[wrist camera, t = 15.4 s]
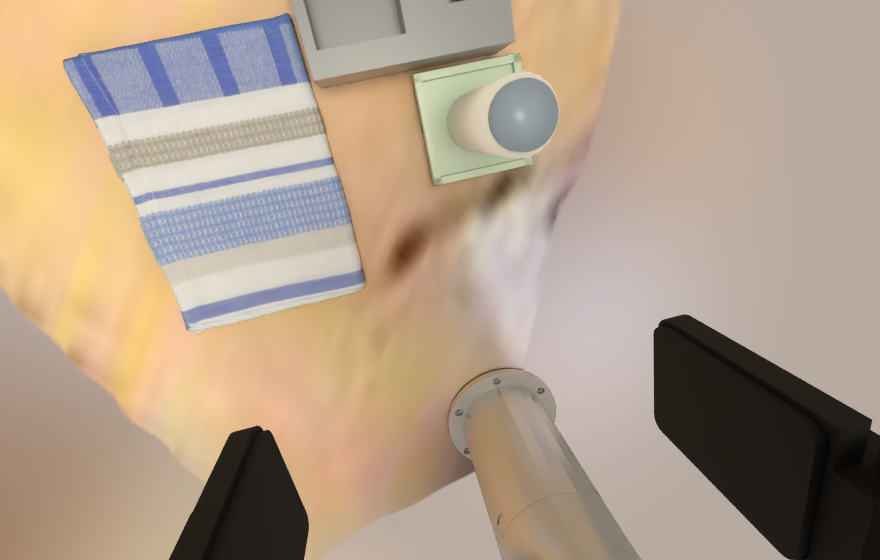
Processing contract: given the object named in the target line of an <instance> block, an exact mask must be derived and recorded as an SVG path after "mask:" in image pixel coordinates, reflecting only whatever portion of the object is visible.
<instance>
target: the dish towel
mask: <svg viewBox="0 0 880 560" xmlns="http://www.w3.org/2000/svg"><path fill="white" fill-rule="evenodd" d="M63 65H64V69H65V71H66V73H67V75H68V77H69V79H70V81H71V83H72V85H73V86H74V88H75V89H76V91H77V93H78V94H79V96H80V98H81V100H82V101H83V103H84V105H85V106H86V108H87V110H88V111H89V113H90V115H91V117H92V118H93V120H94V122H95V124H96V126H97V128H98V130H99V132H100V135H101V137H102V139H103V141H104V143H105V146H106V148H107V151H108V154H109V158H110V160H111V162H112V166H113V168H114V169H115V171H116V173H117V176H118V177H119V178H120V180H121V181H122V183H123V184H124V186H125V187H126V188H127V190H128V191H129V193H130V195H131V197H132V199H133V201H134V203H135V205H136V209H137V212H138V215H139V221H140V223H141V228H142V230H143V231H144V235H145V238H146V239H147V241H148V244H149V246H150V248H151V249H152V252H153V255H154V256H155V258H156V260H157V262H158V264H159V266H160V267H161V269H162V270H163V272H164V274H165V276H166V278H167V280H168V282H169V284H170V286H171V288H172V290H173V292H174V294H175V296H176V298H177V301H178V303H179V305H180V307H181V313H182V316H183V319H184V322H185V326H186V329H187V330H188V331H192V332H193V333H195V334H196V335H198V334H200V333H202V332H204V331H205V330H207V329H210V328H216V327H219V326H225V325H229V324H232V323H236V322H239V321H244V320H248V319H252V318H255V317H258V316H262V315H266V314H270V313H273V312H277V311H281V310H286V309H290V308H295V307H299V306H303V305H307V304H311V303H315V302H320V301H324V300H327V299H330V298H335V297H339V296H343V295H347V294H351V293H354V292H357V291H359V290H361V289H363V287H364V285H365V284H366V283H365V278H364V274H363V271H362V268H361V261H360V255H359V251H358V248H357V244H356V240H355V236H354V231H353V227H352V222H351V217H350V213H349V209H348V206H347V201H346V199H345V195H344V192H343V188H342V185H341V183H340V179H339V175H338V173H337V170H336V168H335V165H334V162H333V158H332V155H331V151H330V148H329V144H328V139H327V136H326V130H325V126H324V123H323V118H322V115H321V113H320V110H319V107H318V105H317V102H316V99H315V96H314V94H313V91H312V87H311V84H310V80H309V77H308V73H307V70H306V67H305V63H304V60H303V57H302V53H301V50H300V47H299V43H298V40H297V37H296V33H295V30H294V27H293V23H292V19H291V17H290V15H289V14H288V13H285V14H283V15H281V16H278V17H275V18H271V19H265V20H260V21H254V22H247V23H241V24H236V25H230V26H224V27H219V28H213V29H208V30H204V31H199V32H195V33H190V34H185V35H180V36H175V37H170V38H164V39H159V40H153V41H148V42H144V43H139V44H135V45H129V46H122V47H117V48H113V49H108V50H104V51H97V52H91V53H83V54H78V56H76V57H73V58H69V59H65V60H63Z"/></svg>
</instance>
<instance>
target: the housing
mask: <svg viewBox="0 0 880 560" xmlns="http://www.w3.org/2000/svg"><path fill="white" fill-rule="evenodd" d="M291 3H292V7H293V10H294V14H295V18H296V21H297V25H298V28H299V32H300V36H301V39H302V43H303V46H304V50H305V53H306V57H307V61H308V64H309V68H310V71H311V75H312V78H313V81H314V82H315V83H316V84H317V85H318V86H319V87H320V88H326V87H331V86H336V85H341V84H346V83H351V82H356V81H361V80H366V79H371V78H376V77H381V76H386V75H391V74H396V73H400V72H405V71H410V70H415V69H420V68H425V67H430V66H435V65H440V64H445V63H450V62H455V61H460V60H465V59H470V58H475V57H480V56H485V55H490V54H495V53H497V52H499V51H500V50H502V49H503V48H505V47H506V46H508V45H509V44H511V43H512V42H514V41H515V37H514V28H513V20H512V11H511V2H510V0H464V1H459V0H291Z"/></svg>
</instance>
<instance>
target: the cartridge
mask: <svg viewBox="0 0 880 560" xmlns="http://www.w3.org/2000/svg"><path fill="white" fill-rule="evenodd" d="M558 121H559V104H558V99H557V96H556V94H555V92H554V90H553V88H552V87H551V85H550V84H549V83H548V82H547V81H546V80H545V79H543V78H542V77H541V76H539V75H537V74H534V73H531V72H515V73H511V74H509V75H507V76H504V77H502V78H500V79H497V80H495V81H493V82H491V83H488V84H486V85H484V86H481V87H479V88H477V89H475V90H472V91H470V92H468V93H466V94H463V95H461V96H460V97H459V98H457V99H456V100H455V101H454V103H453V104H452V105H451V107H450V109H449V112H448V116H447V128H448V132H449V135H450V137H451V139H452V140H453V141H454V143H455V144H456V145H458V146H459V147H461V148H462V149H465V150H468V151H474V152H480V153H485V154H491V155H497V156H503V157H509V158H526V157H530V156H532V155H535V154H536V153H538V152H540V151H541V150H542V149H543V148H544V147H545V146H546V145H547V144H548V143H549V142H550V140H551V139H552V137H553V136H554V133H555V131H556V129H557V126H558Z"/></svg>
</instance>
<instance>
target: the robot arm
mask: <svg viewBox="0 0 880 560" xmlns="http://www.w3.org/2000/svg"><path fill="white" fill-rule="evenodd" d="M654 416H655V420H656V423H657V425H658V427H659V429H660V430H661V431H662V432H663V433H664V434H665V435H666V436H667V437H668V438H669V440H670V441H672V443H674V445H675V446H676V447H677V448H678V449H679V450H680V451H681V452H682V453H683V454H684V455H685V456H686V457H687V458H688V459H689V460H690V461H691V462H692V463H693V464H694V465H695V466H696V467H697V468H698V469H699V470H700V471H701V472H702V473H703V474H704V475H705V476H706V477H707V478H708V480H709V481H711V482H712V484H713V485H714V486H715V487H716V488H717V489H718V490H719V491H720V492H721V493H722V494H723V495H724V496H725V497H726V498H727V499H728V500H729V501H730V502H731V503H732V504H733V505H734V506H735V507H736V508H737V509H738V510H739V511H740V512H741V513H742V514H743V515H744V516H745V518H747V520H748V521H750V523H751V524H752V525H753V526H754V527H755V528H756V529H757V530H758V531H759V532H760V533H761V534H762V535H763V536H764V537H765V538H766V539H767V540H768V541H769V542H770V543H771V544H772V545H773V546H774V547H775V548H776V549H777V550H778V551H779V552H780V553H781V554H782V555H783V556H784V557H786V558H788V559H791V560H880V435H878V434H876V433H875V432H873V431H871V430H870V428H871V423H872V420H871V419H870V418H868V417H866V416H864V415H863V414H861V413H859V412H857V411H856V410H854V409H852V408H850V407H849V406H847V405H845V404H843V403H842V402H840V401H838V400H836V399H835V398H833V397H831V396H829V395H828V394H826V393H824V392H822V391H821V390H819V389H817V388H815V387H814V386H812V385H810V384H808V383H807V382H805V381H803V380H801V379H800V378H798V377H796V376H794V375H793V374H791V373H789V372H787V371H786V370H784V369H782V368H780V367H779V366H777V365H775V364H773V363H772V362H770V361H768V360H766V359H765V358H763V357H761V356H759V355H758V354H756V353H754V352H752V351H750V350H749V349H747V348H745V347H744V346H742V345H740V344H738V343H737V342H735V341H733V340H731V339H730V338H728V337H726V336H724V335H723V334H721V333H719V332H717V331H716V330H714V329H712V328H710V327H709V326H707V325H705V324H703V323H702V322H700V321H698V320H696V319H695V318H693V317H691V316H689V315H680V316H676V317H672V318H668V319H664V320H662V321H661V322H660V323H659V326H658V328H656V329H655V330H654ZM555 417H556V405H555V401H554V398H553V396H552V394H551V392H550V390H549V389H548V387H547V386H546V384H545V383H544V382H543V381H542V380H541V379H539V378H538V377H537V376H535V375H533V374H531V373H529V372H526V371H523V370H517V369H500V370H496V371H491V372H488V373H486V374H483V375H481V376H479V377H478V378H476V379H474V380H472V381H471V382H470V383H469V384H467V385H466V386H465V387H464V388H463V389H462V390H461V391H460V392H459V394H458V395H457V396H456V398H455V400H454V401H453V403H452V405H451V408H450V411H449V416H448V428H449V433H450V436H451V440H452V442H453V444H454V446H455V447H456V448H457V450H458V451H459V452H460V453H461V454H462V455H464V456H465V457H466V458H468V459H470V460H472V462H473V465H474V468H475V472H476V475H477V478H478V481H479V485H480V488H481V491H482V495H483V498H484V501H485V504H486V508H487V511H488V514H489V517H490V520H491V524H492V527H493V530H494V534H495V537H496V540H497V544H498V547H499V550H500V553H501V556H502V560H641V558H640V557H639V556H638V554H637V553H636V551H635V550H634V548H633V547H632V545H631V544H630V542H629V541H628V539H627V538H626V536H625V535H624V533H623V532H622V530H621V528H620V527H619V525H618V524H617V522H616V520H615V519H614V517H613V516H612V514H611V513H610V511H609V509H608V508H607V507H606V505H605V503H604V502H603V500H602V498H601V497H600V495H599V493H598V492H597V490H596V489H595V487H594V486H593V484H592V482H591V481H590V479H589V478H588V476H587V475H586V473H585V471H584V470H583V468H582V467H581V465H580V464H579V462H578V460H577V459H576V457H575V456H574V454H573V452H572V451H571V449H570V448H569V446H568V444H567V443H566V441H565V440H564V438H563V437H562V435H561V433H560V432H559V430H558V429H557V427H556V426H555V424H554V421H555ZM308 530H309V523H308V516H307V513H306V510H305V508H304V506H303V503H302V501H301V499H300V497H299V494H298V492H297V490H296V487H295V485H294V483H293V481H292V478H291V476H290V474H289V471H288V469H287V467H286V464H285V462H284V460H283V458H282V455H281V453H280V451H279V448H278V446H277V444H276V441H275V439H274V437H273V435H272V433H271V432H270V431H269V430H265V431H263V429H262V428H261V427H260V426H255V427H251V428H247V429H243V430H240V431H236V432H233V433H231V434H230V436H229V437H228V439H227V441H226V443H225V445H224V447H223V450H222V452H221V454H220V456H219V458H218V460H217V462H216V464H215V466H214V469H213V471H212V473H211V475H210V477H209V479H208V481H207V483H206V485H205V487H204V490H203V492H202V494H201V496H200V498H199V500H198V502H197V504H196V506H195V508H194V510H193V512H192V514H191V515H190V517H189V519H188V521H187V523H186V525H185V527H184V529H183V532H182V533H181V536H180V538H179V540H178V542H177V544H176V546H175V548H174V550H173V552H172V554H171V556H170V559H169V560H304V556H305V549H306V543H307V537H308Z"/></svg>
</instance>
